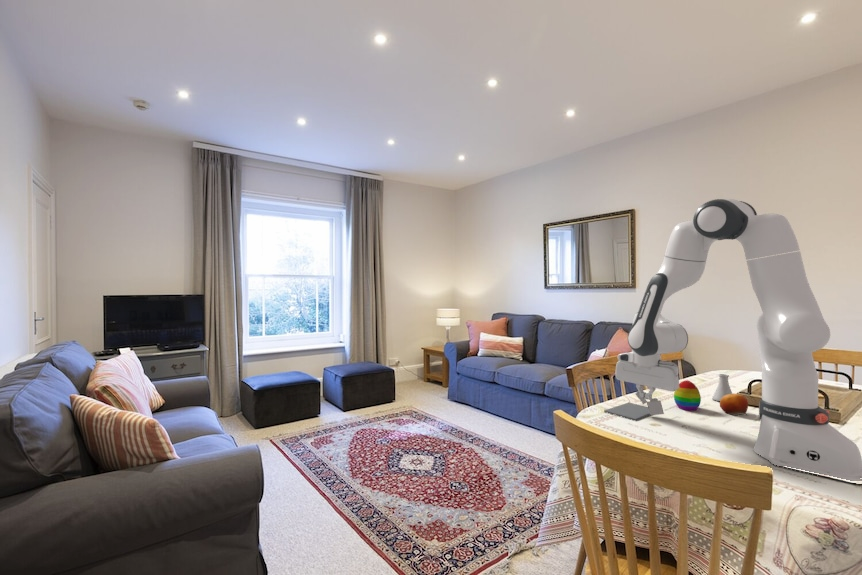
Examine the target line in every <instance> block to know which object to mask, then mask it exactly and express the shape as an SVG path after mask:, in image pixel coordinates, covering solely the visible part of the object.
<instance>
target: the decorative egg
mask: <svg viewBox="0 0 862 575" xmlns="http://www.w3.org/2000/svg"><path fill="white" fill-rule="evenodd" d="M673 392H674V394H673V400H674V402H675V406H676V407H677V408H679V409H680V408H681V410H683V411H696V410H697V409H698V408H699V407H700V406H701V401H702V400H701V399H702V397H701V393H700V391H699V389H698V387H697V386H696V385H695V383H693V382H692V381H691V380H682V381H681V382H679V388H678V389H677V390H676V391H673Z"/></svg>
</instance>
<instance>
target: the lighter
mask: <svg viewBox="0 0 862 575" xmlns="http://www.w3.org/2000/svg"><path fill="white" fill-rule="evenodd" d="M635 397H637V398H638V399H639V401H640V402H641V403H642V405H644V404H646V405H647V407H648V409H649V413H650V415H649V416H658V415H664V414H665V413H664V408H663V405H662V401H661V400H659V399H658V398H656V397H655V398H654V397H652V399H651V400H649V401H648V400H647V399H645V398H642V397H640V395H639V391H638V390H637V392H635Z"/></svg>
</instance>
